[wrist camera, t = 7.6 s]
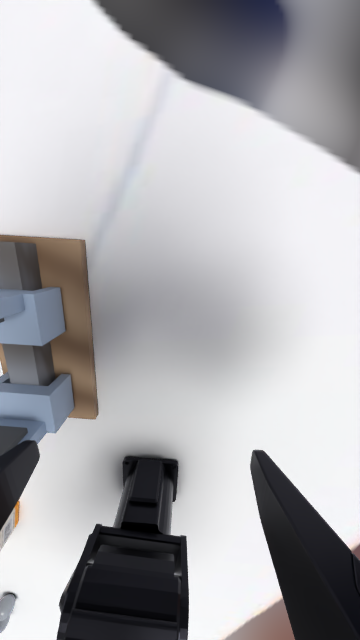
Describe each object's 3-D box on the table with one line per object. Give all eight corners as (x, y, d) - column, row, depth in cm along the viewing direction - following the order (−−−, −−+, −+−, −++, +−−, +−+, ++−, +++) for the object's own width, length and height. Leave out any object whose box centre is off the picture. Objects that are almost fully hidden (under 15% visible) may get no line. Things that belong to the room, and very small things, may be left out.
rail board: (98, 413, 23) (85, 436, 20) (18, 407, 23) (-6, 429, 20) (84, 240, 17) (64, 237, 15) (-20, 234, 18) (-61, 230, 15)
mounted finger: (74, 407, 22) (21, 479, 15) (17, 403, 22) (-62, 472, 15) (70, 374, 20) (10, 435, 13) (10, 370, 20) (-80, 428, 14)
